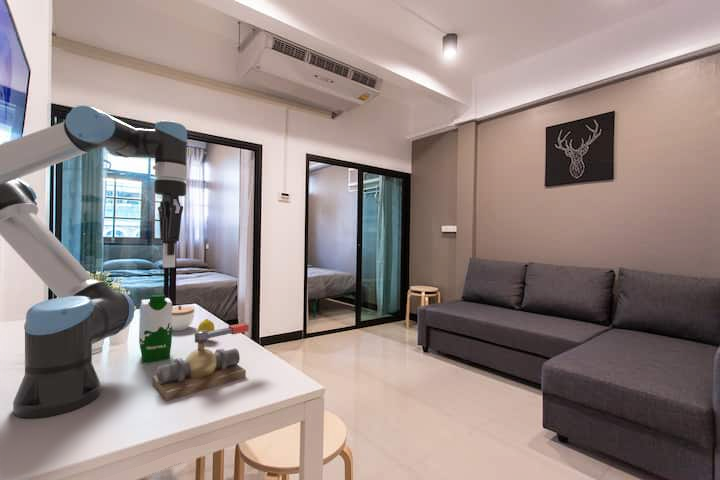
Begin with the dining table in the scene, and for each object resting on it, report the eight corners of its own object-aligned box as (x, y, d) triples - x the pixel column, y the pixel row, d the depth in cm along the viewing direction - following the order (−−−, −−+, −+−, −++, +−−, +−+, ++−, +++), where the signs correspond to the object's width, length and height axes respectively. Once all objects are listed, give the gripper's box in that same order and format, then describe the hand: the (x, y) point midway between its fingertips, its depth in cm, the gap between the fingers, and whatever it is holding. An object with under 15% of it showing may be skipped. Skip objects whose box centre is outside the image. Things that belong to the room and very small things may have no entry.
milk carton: (139, 364, 101) (141, 297, 101) (138, 355, 108) (139, 292, 108) (173, 358, 106) (174, 295, 106) (169, 350, 114) (170, 290, 113)
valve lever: (198, 343, 90) (198, 334, 90) (192, 340, 92) (192, 332, 92) (249, 332, 101) (249, 324, 101) (243, 329, 103) (243, 321, 103)
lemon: (196, 343, 121) (196, 321, 121) (199, 338, 126) (199, 317, 126) (212, 342, 122) (213, 320, 122) (215, 337, 128) (215, 316, 128)
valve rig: (166, 400, 81) (167, 357, 80) (152, 383, 89) (152, 344, 89) (245, 376, 95) (246, 339, 95) (226, 364, 103) (227, 330, 103)
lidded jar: (167, 325, 142) (168, 303, 142) (195, 324, 145) (196, 302, 145) (161, 333, 132) (161, 309, 131) (191, 331, 135) (192, 308, 135)
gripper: (148, 180, 94) (146, 265, 95) (162, 176, 85) (160, 270, 85) (177, 184, 99) (175, 264, 100) (194, 180, 90) (192, 268, 91)
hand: (168, 267), depth 93 cm, fingers closed
